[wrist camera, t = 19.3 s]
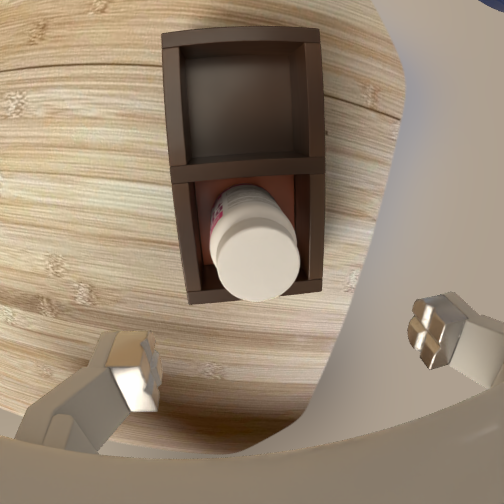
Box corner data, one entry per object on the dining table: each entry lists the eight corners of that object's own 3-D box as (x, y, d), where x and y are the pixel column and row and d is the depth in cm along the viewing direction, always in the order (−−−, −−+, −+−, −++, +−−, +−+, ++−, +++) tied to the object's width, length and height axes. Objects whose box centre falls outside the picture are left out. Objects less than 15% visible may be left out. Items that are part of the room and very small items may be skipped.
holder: (171, 50, 18) (161, 33, 14) (300, 44, 19) (319, 28, 15) (192, 274, 25) (188, 305, 21) (305, 263, 26) (321, 291, 22)
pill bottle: (205, 187, 22) (200, 225, 14) (273, 177, 22) (306, 209, 14) (216, 251, 24) (218, 315, 16) (280, 241, 24) (311, 300, 16)
